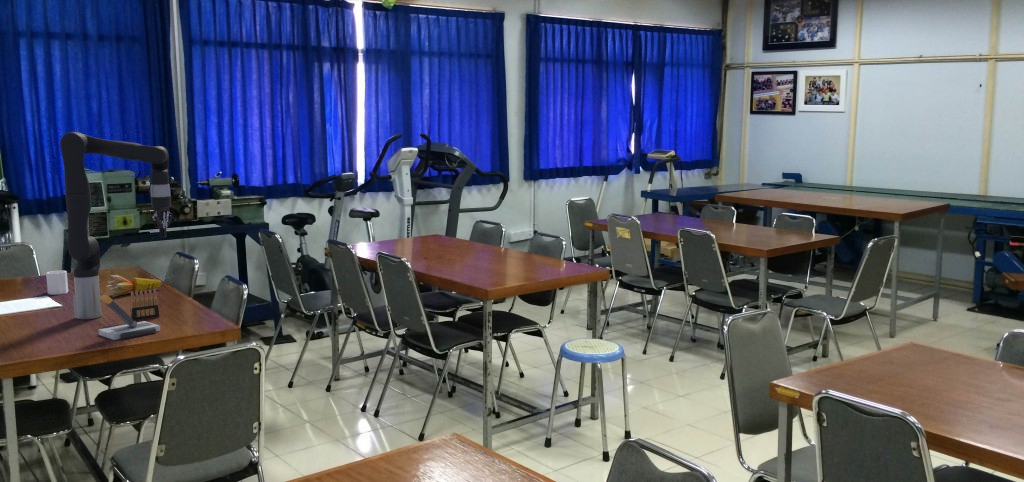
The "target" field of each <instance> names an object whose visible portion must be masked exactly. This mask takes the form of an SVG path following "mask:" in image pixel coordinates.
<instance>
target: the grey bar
mask: <svg viewBox="0 0 1024 482" xmlns="http://www.w3.org/2000/svg"><path fill="white" fill-rule="evenodd" d="M134 321H135V322H137V320H134ZM126 324H127V323H125V322H123V323H119V324H113V325H108V326H103V327H102V328H101V329H104V328H110V327H115V326H121V325H126Z"/></svg>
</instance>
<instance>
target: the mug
mask: <svg viewBox="0 0 1024 482" xmlns="http://www.w3.org/2000/svg"><path fill="white" fill-rule="evenodd" d="M45 274H46V275H45V276H46V287H47V295H54V296H56V295H62V294H68V293H69V284H68V283H69V282H68V271H67V270H63V269H62V270H52V271H51V270H50V271H47V272H46V273H45Z"/></svg>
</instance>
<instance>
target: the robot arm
mask: <svg viewBox="0 0 1024 482" xmlns="http://www.w3.org/2000/svg"><path fill="white" fill-rule="evenodd" d="M59 148H60V151H61V157H62V158H61V159H62V162H63V169H64V171H63V172H64V188H65V189H64V193H65V196H64V197H65V203H66V204H65V205H66V213H67V215H66V216H67V224H68V225H67V226H68V228H67V229H68V230H67V231H68V232H67V251H68V254H69V256H70V258H71V259H73V260H74V261H76V262H77V263H76V266H75V268H73V273H72V274H73V281H74V294H73V295H72V300H73V313H74V319H78V320H93V319H98V318H102V316H103V315H102V300H100V299H99V298H100V297H101V289H100V287H101V286H100V275H99V273H100V272H99V271H100V268H101V254H100V252H101V250H100V245H99V242H98V241H97V239H96V238H95V237H93V236H91V235H88V220H89V217H90V213H91V210H92V191H91V186H90V185H91V184H90V182H89V179H88V176H87V173H86V169H85V161H84V160H85V155H89V154H92V155H102V156H103V155H104V156H108V157H112V158H117V159H121V160H122V159H123V160H127V161H129V160H130V161H139V162H144V163H147V164H148V163H149V164H150V165H151V171H150V174H149V175H150V177H149V178H150V179H149V180H150V203H151V208H154V209H153V215H152V216H150V220H151V221H152V223H153V225H154V226H155V228H157V229H158V230H159V237H160V238H163V239H164V238H167V235H168V234H167V228H168V227H170V225H171V222H172V219H173V216H174V213H173V212H172V213H171V212H170V207H171V206H172V196H171V187H170V178H169V177H170V175H169V164H170V157H169V152H168V149H167V148H166V147H165V146H160V145H157V146H153V145H144V144H141V143H136V142H129V141H122V140H112V139H111V140H109V139H103V138H98V137H94V136H91V135H87V134H84V133H81V132H80V131H70V132H66V133H64V134H63V135H62V136H61V138H60V141H59Z"/></svg>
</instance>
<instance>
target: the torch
mask: <svg viewBox="0 0 1024 482" xmlns="http://www.w3.org/2000/svg"><path fill="white" fill-rule="evenodd" d="M110 277H112V278H114V279H115V280H111V281H108V285H106V288H107V287H109V288H110V289H109V291H110V292H108V295H112V296H111V298H114V297H118V296H122V295H125V294H127V293H128V294H129V293H131V291H133V294H134V295H135V293H136V290H137V292H138V294H140V290H142V292H143V291H145V289H146V291H149V289H151V291H152V290H154V288H155V289H158V288H160V287H161V286H162V280H159V279H151V278H141V277H132V278H131V280H129V279H127V278H124V277H123V276H121V275H119V274H114V275H113V274H111V275H110Z"/></svg>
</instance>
